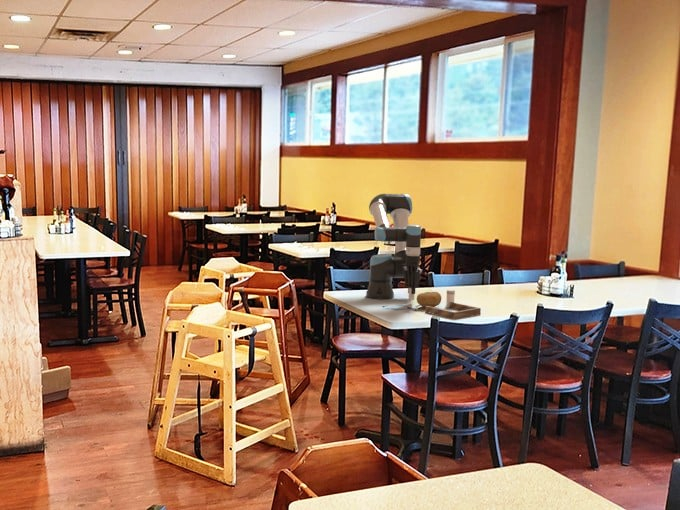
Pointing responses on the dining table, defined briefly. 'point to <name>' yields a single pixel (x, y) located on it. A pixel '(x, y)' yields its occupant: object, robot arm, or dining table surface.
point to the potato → (429, 299)
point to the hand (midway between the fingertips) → (411, 300)
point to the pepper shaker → (450, 297)
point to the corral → (459, 314)
